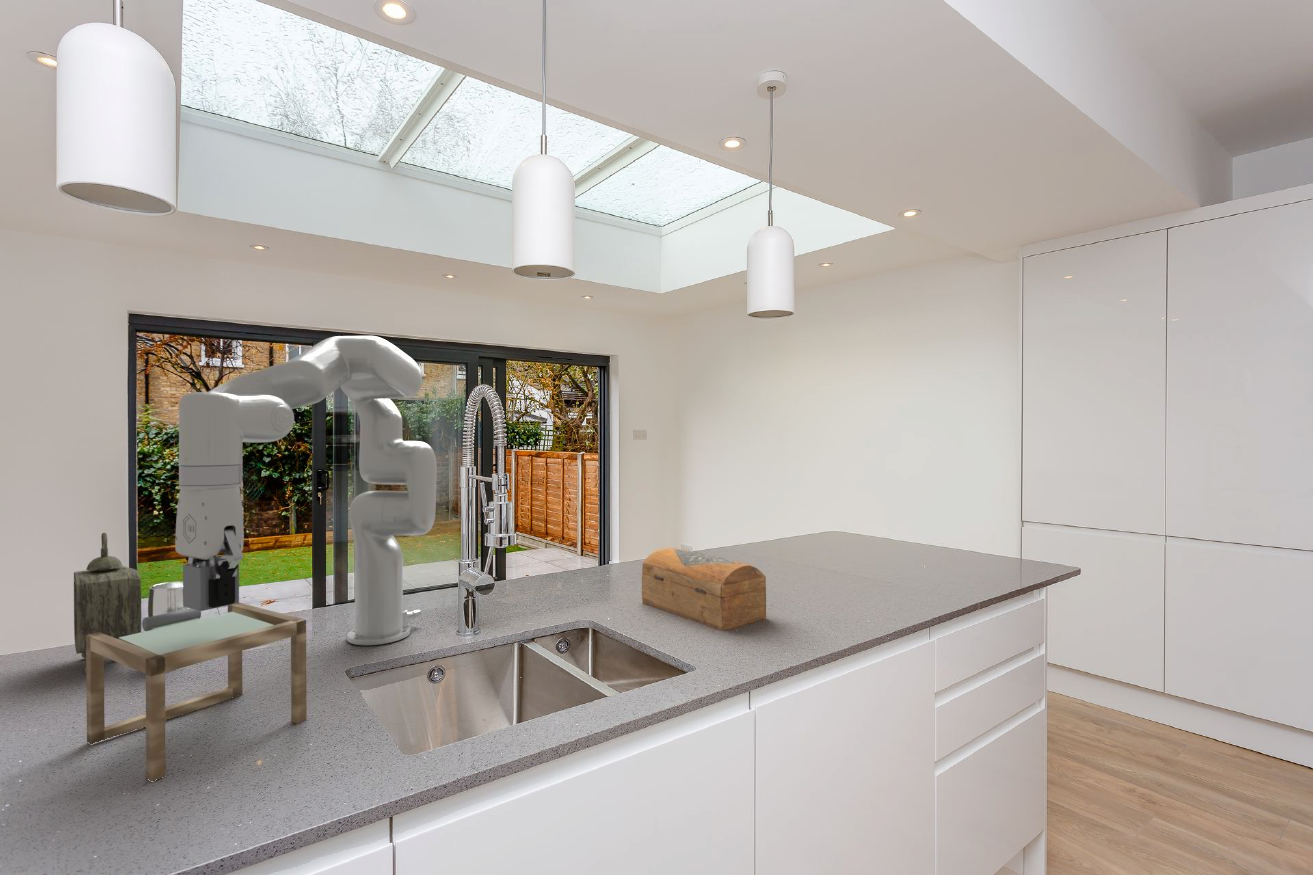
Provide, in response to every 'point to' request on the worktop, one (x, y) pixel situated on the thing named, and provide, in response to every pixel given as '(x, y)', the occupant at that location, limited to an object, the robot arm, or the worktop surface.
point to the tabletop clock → (106, 599)
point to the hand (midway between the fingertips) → (211, 601)
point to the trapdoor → (189, 630)
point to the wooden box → (704, 588)
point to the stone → (201, 585)
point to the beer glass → (165, 598)
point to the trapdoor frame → (159, 664)
